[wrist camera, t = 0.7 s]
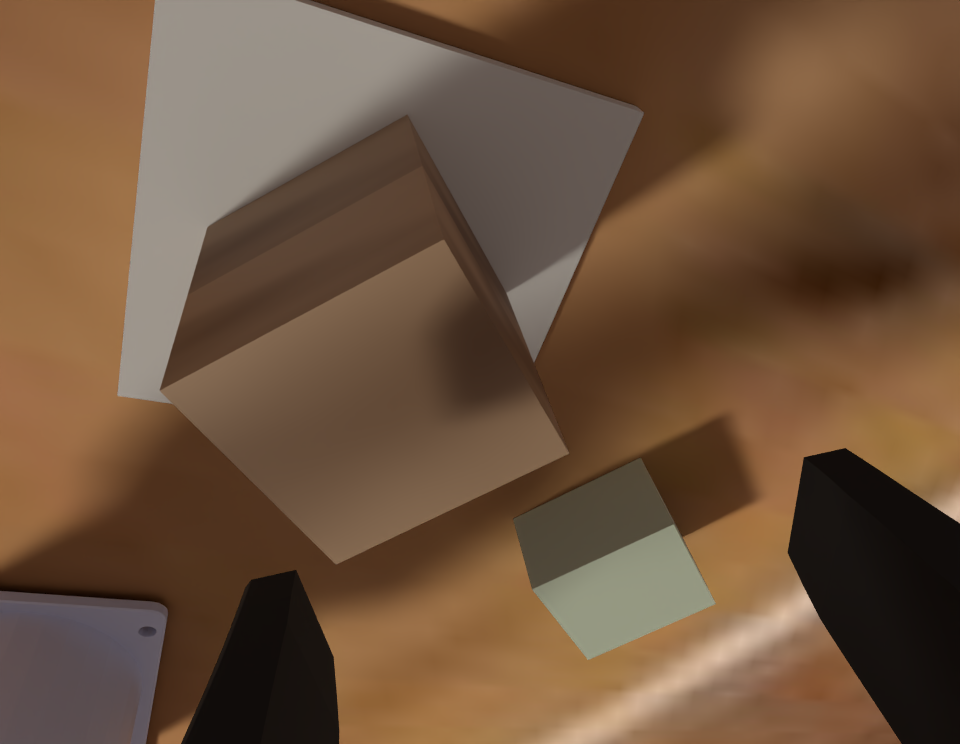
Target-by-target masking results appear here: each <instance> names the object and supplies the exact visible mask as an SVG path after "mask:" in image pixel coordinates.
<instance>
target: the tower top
mask: <svg viewBox="0 0 960 744" xmlns="http://www.w3.org/2000/svg"><path fill="white" fill-rule="evenodd" d="M160 392H161V393H162V394H163V395H164V396H165V397H166V398H167V399H168V400H169V401H170V402H171V403H172V404H173V405H174V406H175V407H176V408H177V409H178V410H179V411H181V412H182V413H183V414H184V415H185V416H186V417H187V418H188V419H189V420H190V421H191V422H192V423H193V424H194V425H195V426H196V427H197V428H198V429H199V430H200V431H201V432H202V433H203V434H204V435H205V436H206V437H207V438H208V439H209V440H210V441H211V442H212V443H213V444H214V445H215V446H216V447H217V448H218V449H219V450H220V451H221V452H222V453H223V454H224V455H225V456H226V457H227V458H228V459H229V460H230V461H231V462H232V463H233V464H234V465H235V466H236V467H237V468H238V469H239V470H240V471H241V472H242V473H243V474H244V475H245V476H246V477H247V478H248V479H250V480H251V481H252V482H253V483H254V484H255V485H256V486H257V487H258V488H259V489H260V490H261V491H262V492H263V493H264V494H265V495H266V496H267V497H268V498H269V499H270V500H271V501H272V502H273V503H274V504H275V505H276V506H277V507H278V508H279V509H280V510H281V511H282V512H283V513H284V514H285V515H286V516H287V517H288V518H289V519H290V520H291V521H292V522H293V523H294V524H295V525H296V526H297V527H298V528H299V529H300V530H301V531H302V532H303V533H304V534H305V535H306V536H307V537H308V538H309V539H310V540H311V541H312V542H313V543H314V544H315V545H316V546H317V547H319V548H320V549H321V550H322V551H323V552H324V553H325V554H326V555H327V556H328V557H329V558H330V559H331V560H332V561H333V562H334V563H335V564H339V563H341V562H343V561H345V560H347V559H349V558H351V557H353V556H355V555H357V554H360V553H362V552H364V551H366V550H368V549H370V548H372V547H374V546H376V545H378V544H381V543H383V542H385V541H387V540H389V539H391V538H393V537H395V536H397V535H399V534H402V533H404V532H406V531H408V530H410V529H412V528H414V527H416V526H418V525H420V524H423V523H425V522H427V521H429V520H431V519H433V518H435V517H437V516H439V515H441V514H444V513H446V512H448V511H450V510H452V509H454V508H456V507H458V506H460V505H462V504H465V503H467V502H469V501H471V500H473V499H475V498H477V497H479V496H481V495H483V494H485V493H488V492H490V491H492V490H494V489H496V488H498V487H500V486H502V485H504V484H506V483H509V482H511V481H513V480H515V479H517V478H519V477H521V476H523V475H525V474H527V473H530V472H532V471H534V470H536V469H538V468H540V467H542V466H544V465H546V464H548V463H551V462H553V461H555V460H557V459H559V458H561V457H563V456H565V455H567V454H569V451H568V449H567V446H566V444H565V441H564V439H563V436H562V433H561V431H560V428H559V426H558V423H557V421H556V418H555V416H554V413H553V410H552V408H551V405H550V403H549V400H548V398H547V395H546V393H545V390H544V388H543V385H542V382H541V380H540V377H539V375H538V372H537V370H536V367H535V365H534V362H533V360H532V358H531V357H530V355H529V353H528V351H527V350H526V348H525V346H524V344H523V342H522V341H521V339H520V337H519V335H518V334H517V332H516V330H515V328H514V327H513V325H512V323H511V321H510V320H509V318H508V316H507V314H506V312H505V311H504V309H503V307H502V305H501V304H500V302H499V300H498V298H497V297H496V295H495V293H494V291H493V290H492V288H491V286H490V284H489V282H488V281H487V279H486V277H485V275H484V274H483V272H482V270H481V268H480V267H479V265H478V263H477V261H476V260H475V258H474V256H473V254H472V252H471V251H470V249H469V247H468V245H467V244H466V242H465V240H464V238H463V237H462V235H461V233H460V231H459V230H458V228H457V226H456V224H455V222H454V221H453V219H452V217H451V215H450V214H449V212H448V210H447V208H446V207H445V205H444V203H443V201H442V199H441V198H440V196H439V194H438V192H437V191H436V189H435V187H434V185H433V184H432V182H431V180H430V178H429V177H428V175H427V173H426V171H425V169H424V168H423V166H421V167H419V168H417V169H415V170H414V171H412V172H410V173H408V174H406V175H404V176H403V177H401V178H399V179H397V180H395V181H394V182H392V183H390V184H388V185H386V186H384V187H383V188H381V189H379V190H377V191H375V192H374V193H372V194H370V195H368V196H366V197H364V198H363V199H361V200H359V201H357V202H355V203H354V204H352V205H350V206H348V207H346V208H345V209H343V210H341V211H339V212H337V213H335V214H334V215H332V216H330V217H328V218H326V219H325V220H323V221H321V222H319V223H317V224H315V225H314V226H312V227H310V228H308V229H306V230H305V231H303V232H301V233H299V234H297V235H295V236H294V237H292V238H290V239H288V240H286V241H285V242H283V243H281V244H279V245H277V246H275V247H274V248H272V249H270V250H268V251H266V252H265V253H263V254H261V255H259V256H257V257H255V258H254V259H252V260H250V261H248V262H246V263H245V264H243V265H241V266H239V267H237V268H235V269H234V270H232V271H230V272H228V273H226V274H225V275H223V276H221V277H219V278H217V279H216V280H214V281H212V282H210V283H208V284H206V285H205V286H203V287H201V288H199V289H197V290H196V291H194V292H192V293H190V294H188V295H187V299H186V302H185V305H184V309H183V312H182V316H181V319H180V322H179V326H178V329H177V333H176V336H175V339H174V343H173V346H172V350H171V353H170V357H169V360H168V363H167V367H166V370H165V374H164V377H163V380H162V384H161V387H160Z"/></svg>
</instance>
